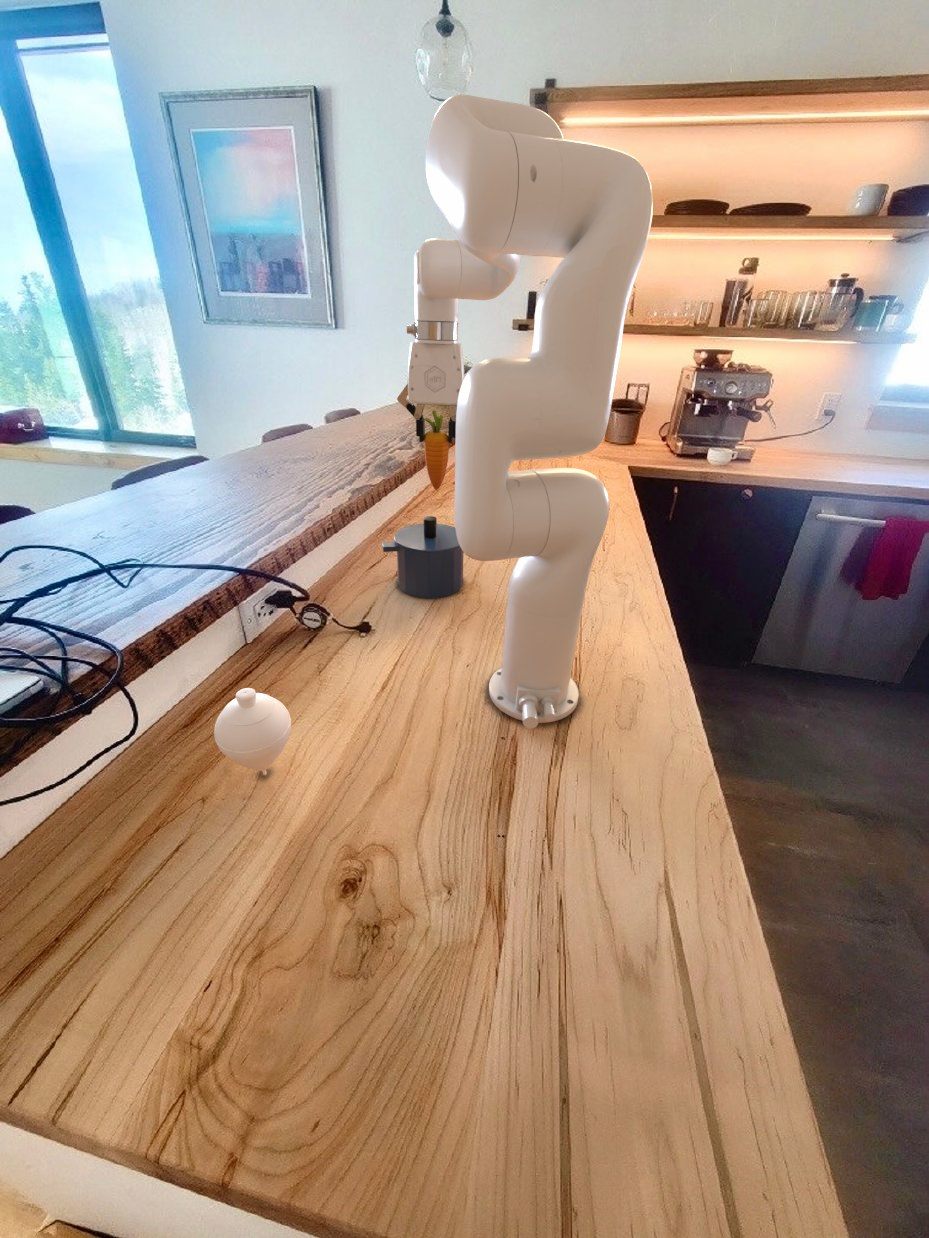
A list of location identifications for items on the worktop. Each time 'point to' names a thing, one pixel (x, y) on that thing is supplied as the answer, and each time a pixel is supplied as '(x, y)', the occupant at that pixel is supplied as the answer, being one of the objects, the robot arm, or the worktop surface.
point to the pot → (428, 571)
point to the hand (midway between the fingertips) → (436, 440)
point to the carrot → (436, 451)
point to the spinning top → (253, 729)
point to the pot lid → (427, 537)
